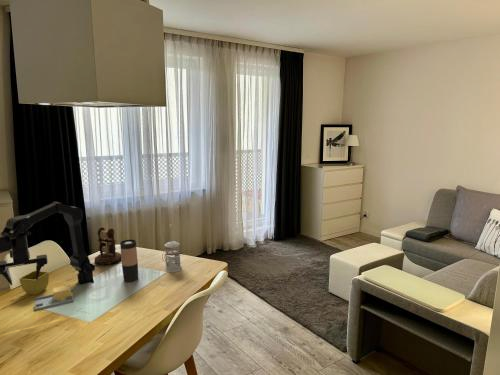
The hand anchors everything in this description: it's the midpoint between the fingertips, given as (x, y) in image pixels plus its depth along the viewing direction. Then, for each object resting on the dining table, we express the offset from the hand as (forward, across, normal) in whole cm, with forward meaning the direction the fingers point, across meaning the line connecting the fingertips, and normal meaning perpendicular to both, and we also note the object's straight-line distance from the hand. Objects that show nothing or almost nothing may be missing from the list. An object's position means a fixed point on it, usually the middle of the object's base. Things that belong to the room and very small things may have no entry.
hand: (24, 282), depth 148 cm
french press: (+12, -67, -8) cm, 68 cm away
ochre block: (+12, -14, -2) cm, 18 cm away
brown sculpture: (+12, -38, -38) cm, 55 cm away
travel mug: (+12, -45, -7) cm, 47 cm away
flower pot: (+12, -3, -15) cm, 19 cm away
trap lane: (+12, -10, -1) cm, 16 cm away
